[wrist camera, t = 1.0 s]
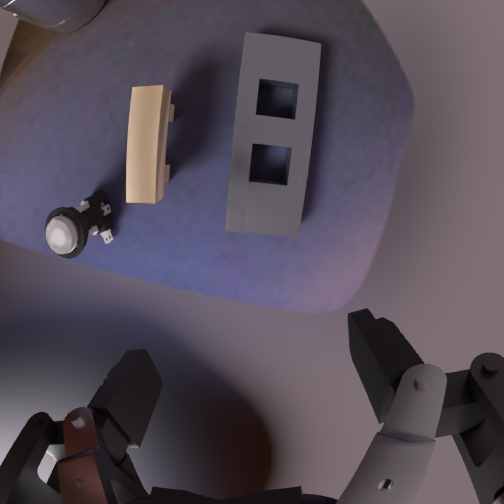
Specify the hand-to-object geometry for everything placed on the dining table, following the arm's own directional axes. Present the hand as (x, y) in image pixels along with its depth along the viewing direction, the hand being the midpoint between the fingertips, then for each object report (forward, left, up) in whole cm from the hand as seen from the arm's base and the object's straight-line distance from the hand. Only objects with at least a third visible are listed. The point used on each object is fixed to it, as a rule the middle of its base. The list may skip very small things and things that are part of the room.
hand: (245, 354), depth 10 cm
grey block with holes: (+2, +9, -23) cm, 25 cm away
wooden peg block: (-10, +7, -23) cm, 26 cm away
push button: (-18, -2, -24) cm, 30 cm away
